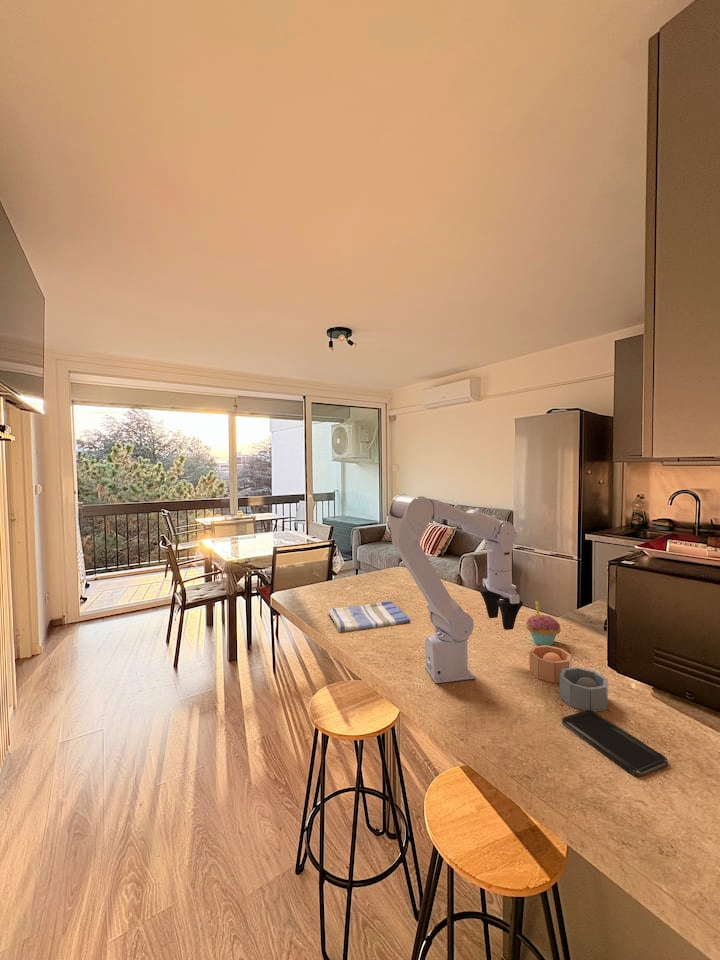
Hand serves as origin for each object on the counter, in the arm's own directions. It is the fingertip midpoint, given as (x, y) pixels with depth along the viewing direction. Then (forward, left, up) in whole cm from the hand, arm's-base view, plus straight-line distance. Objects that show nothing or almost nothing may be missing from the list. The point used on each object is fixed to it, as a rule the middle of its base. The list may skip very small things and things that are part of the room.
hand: (500, 623), depth 102 cm
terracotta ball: (+8, -9, -7) cm, 14 cm away
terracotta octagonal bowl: (+8, -8, -9) cm, 15 cm away
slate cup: (+8, -19, -9) cm, 23 cm away
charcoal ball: (+8, -20, -7) cm, 23 cm away
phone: (+4, -31, -10) cm, 33 cm away
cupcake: (+16, +7, -10) cm, 20 cm away
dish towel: (-27, +36, -10) cm, 46 cm away
